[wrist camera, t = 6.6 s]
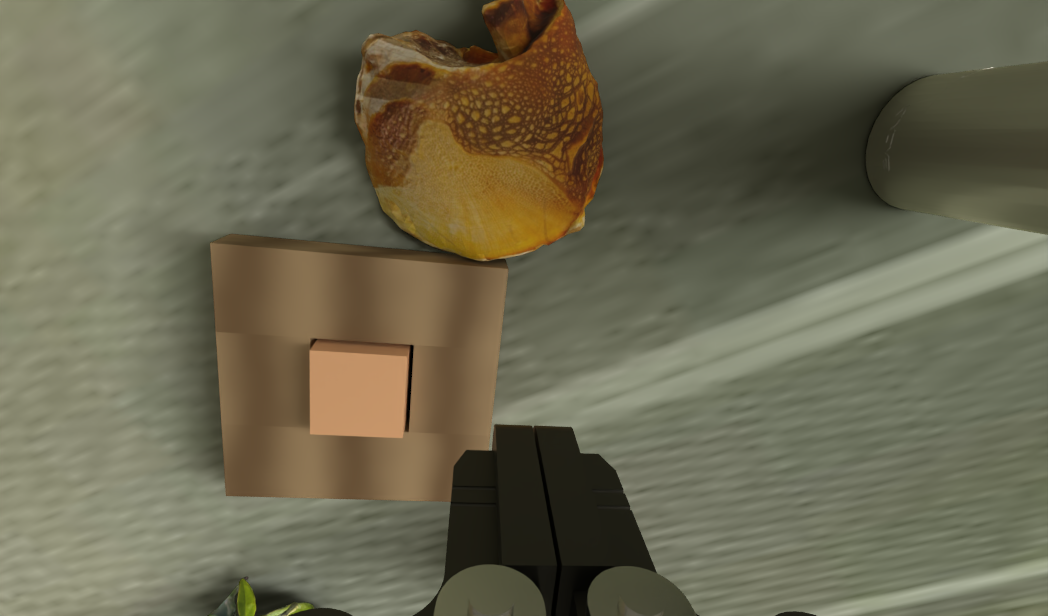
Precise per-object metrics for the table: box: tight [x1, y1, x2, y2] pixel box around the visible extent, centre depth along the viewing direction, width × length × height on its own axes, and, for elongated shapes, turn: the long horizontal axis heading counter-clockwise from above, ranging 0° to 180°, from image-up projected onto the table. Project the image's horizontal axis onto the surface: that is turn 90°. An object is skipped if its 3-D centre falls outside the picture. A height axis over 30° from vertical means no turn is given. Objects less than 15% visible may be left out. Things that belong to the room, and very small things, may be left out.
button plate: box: [210, 234, 508, 502], centre depth 37 cm, size 18×18×3 cm
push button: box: [310, 339, 412, 438], centre depth 36 cm, size 6×6×4 cm
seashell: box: [354, 0, 604, 261], centre depth 32 cm, size 17×8×15 cm
